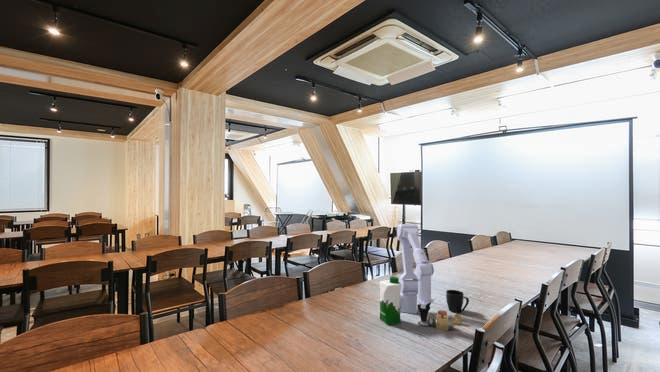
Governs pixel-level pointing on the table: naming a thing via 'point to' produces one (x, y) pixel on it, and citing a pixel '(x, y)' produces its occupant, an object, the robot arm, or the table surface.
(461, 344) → the table surface
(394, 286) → the milk carton
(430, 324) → the pad
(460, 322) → the elbow
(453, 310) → the mug
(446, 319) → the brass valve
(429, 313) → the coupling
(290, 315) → the table surface
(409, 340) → the table surface
